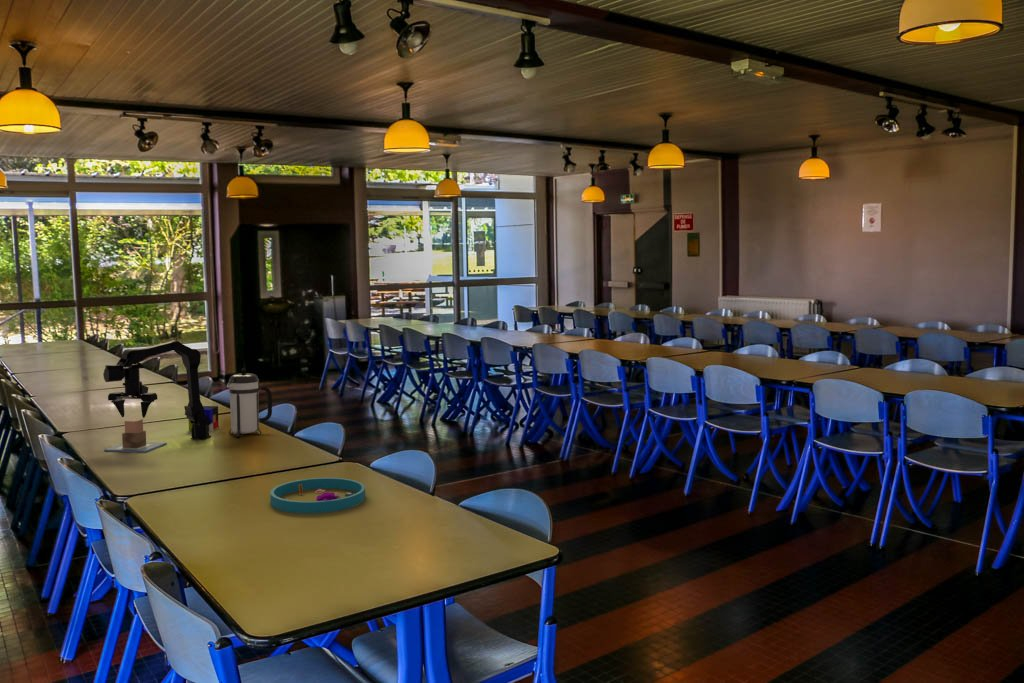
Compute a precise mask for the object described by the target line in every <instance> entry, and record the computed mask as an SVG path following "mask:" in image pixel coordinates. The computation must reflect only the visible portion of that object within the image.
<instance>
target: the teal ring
mask: <svg viewBox="0 0 1024 683" xmlns="http://www.w3.org/2000/svg"><path fill="white" fill-rule="evenodd" d="M335 488H339V490H345V489H348V490H347V491H346V492H345V493H344V497H341V494H340V493H339V492H338V491H335V492H330V491H327V490H326V489H335ZM315 489H316V490H315ZM306 490H315V491H314V493H315V494H318V495H317V496H316V500H313V501H311V500H310V501H305V500H304V501H303V500H291V499H290V498H288V497H286V498H282V496H284V495H288V494H291V493H294V492H295V493H296V492H299V496H302V495H304V493H303V492H304V491H306ZM351 490H352V491H351ZM348 491H351V492H348ZM354 491H356V492H355V493H352V492H354ZM269 492H270V493H269V494H270V496H269V497H270V506H271V507H272V508H274V509H276V510H278V511H282V512H287V513H295V514H321V513H322V514H323V513H333V512H339V511H344V510H347V509H351V508H353V507H352V506H354V507H356V506H358V505H357V504H359V503H360V504H361V502H362V501H363V500H364V499H366V486H365V484H363V483H362V482H360V481H359V480H358V481H357V480H354V479H349V478H343V477H342V478H341V477H314V478H313V477H311V478H305V479H298V480H292V481H288V482H284V483H282V484H279V485H277V486H275V487H273V488H272V489H271V490H270V491H269ZM364 501H365V500H364ZM364 501H363V502H364ZM363 502H362V503H363ZM360 504H359V505H360ZM355 505H356V506H355ZM350 507H351V508H350ZM346 508H347V509H346Z"/></svg>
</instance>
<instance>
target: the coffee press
mask: <svg viewBox="0 0 1024 683" xmlns="http://www.w3.org/2000/svg"><path fill="white" fill-rule="evenodd" d="M240 372H241V373H236V374H232V375H231V376H230V377H229V380H228V383H227V385H226V388H228V389H229V392H228V393H229V404H230V405H229V406H230V409H229V410H230V430H229V431H228V434H229V435H232V434H236V435H235V436H236V438H241V436H242V435H243V434H250V433H251V434H252V433H255V434H256V435H257V436H259V435H258V434H260V435H262V434H263V432H262V431H261V429H260V423H262V422H267V421H269V419H270V418H271V417H272V414H273V396H272V392H271V390H270V389H269V387H267V386H259V382H260V379H259V378H258V375H257V374H254V373H249V372H247V369H246V368H245V367H243V368H241V370H240ZM246 372H247V373H246ZM259 391H264V392H265V393H266V395H267V413H266V415H265V416H264V417H259V416H260V415H259V409H260V407H259V406H260V405H259Z"/></svg>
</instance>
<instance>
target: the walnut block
mask: <svg viewBox="0 0 1024 683" xmlns="http://www.w3.org/2000/svg"><path fill="white" fill-rule="evenodd" d="M121 436H122V437H121V440H122V442H121V443H122V444H123V448H139V447H142V446H145V445H146V442H147V431H146V430H143V431H142V432H139V433H125V432H122V433H121Z"/></svg>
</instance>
